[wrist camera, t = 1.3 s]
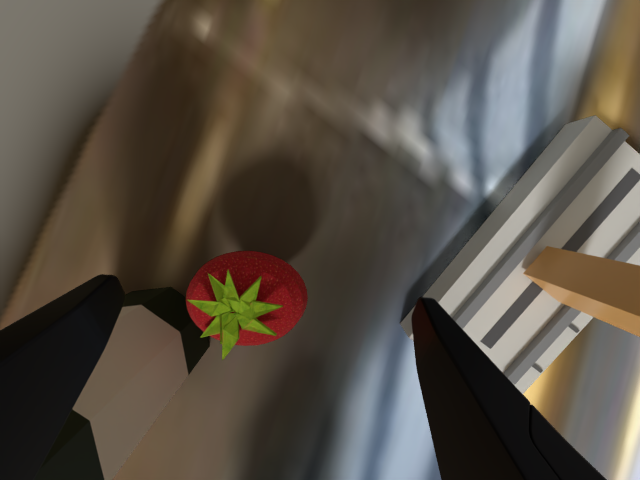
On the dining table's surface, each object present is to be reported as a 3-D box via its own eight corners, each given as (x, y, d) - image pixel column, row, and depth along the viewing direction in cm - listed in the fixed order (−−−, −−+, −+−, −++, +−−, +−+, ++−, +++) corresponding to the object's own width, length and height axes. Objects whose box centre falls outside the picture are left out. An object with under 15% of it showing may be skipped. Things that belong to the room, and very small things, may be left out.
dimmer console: (489, 390, 26) (512, 415, 23) (399, 323, 25) (411, 341, 22) (657, 203, 24) (707, 204, 21) (565, 124, 23) (603, 112, 20)
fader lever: (558, 302, 22) (789, 403, 11) (522, 273, 22) (723, 348, 11) (583, 274, 22) (845, 350, 11) (546, 245, 21) (779, 293, 11)
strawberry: (308, 311, 25) (302, 386, 15) (217, 308, 25) (150, 381, 15) (311, 241, 24) (306, 271, 14) (216, 237, 24) (145, 265, 14)
